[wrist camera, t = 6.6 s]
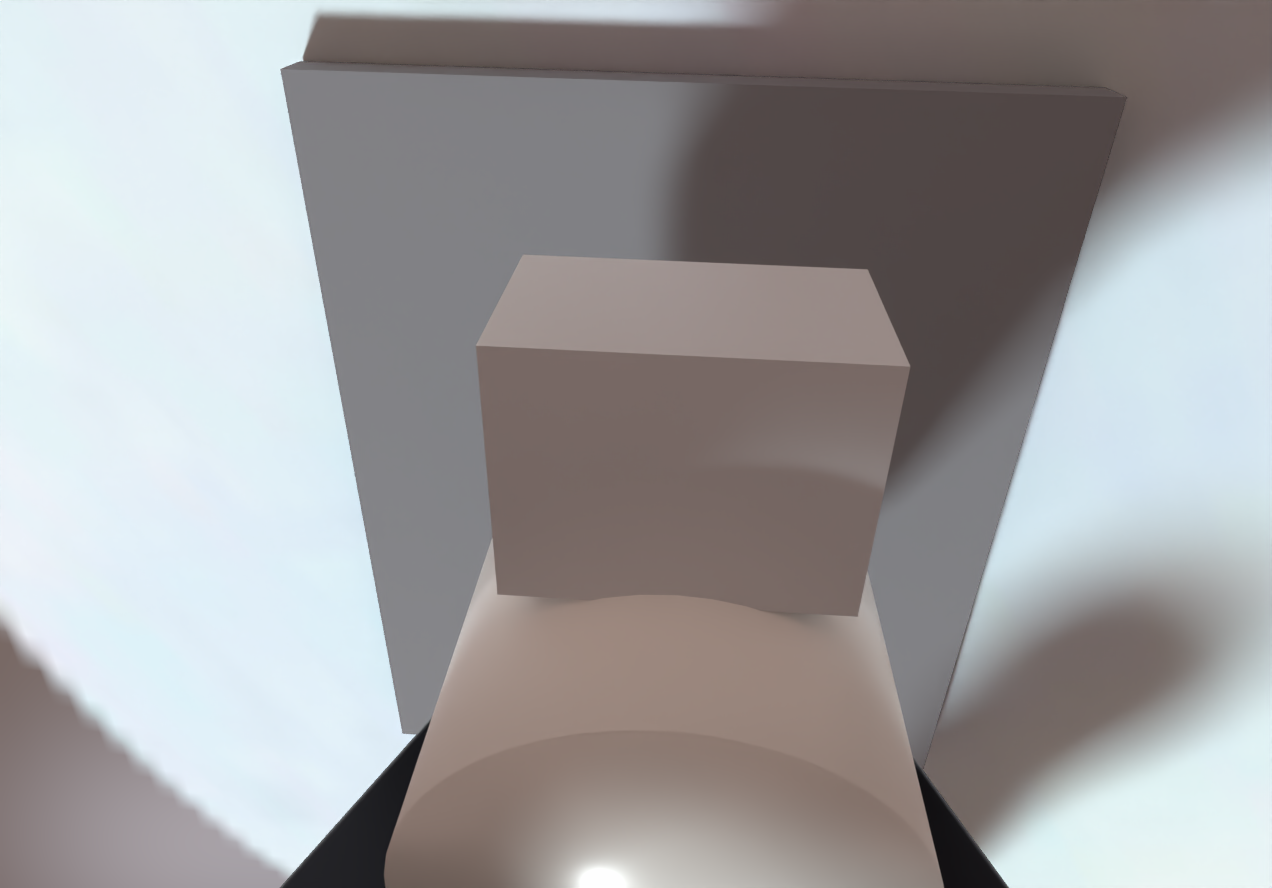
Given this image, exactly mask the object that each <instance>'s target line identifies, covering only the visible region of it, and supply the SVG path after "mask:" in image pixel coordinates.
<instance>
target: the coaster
mask: <svg viewBox="0 0 1272 888" xmlns="http://www.w3.org/2000/svg"><path fill="white" fill-rule="evenodd" d="M281 75H282V80H283V85H284V91H285V96H286V102H287V107H288V113H289V118H290V124H291V129H292V134H293V140H294V145H295V151H296V156H297V162H298V167H299V173H300V178H301V183H302V189H303V194H304V200H305V205H306V211H307V216H308V221H309V227H310V232H311V238H312V243H313V249H314V254H315V260H316V265H317V270H318V276H319V281H320V287H321V292H322V298H323V303H324V308H325V314H326V319H327V325H328V330H329V336H330V341H331V347H332V352H333V357H334V363H335V368H336V374H337V379H338V385H339V390H340V395H341V401H342V406H343V412H344V417H345V423H346V428H347V434H348V439H349V444H350V450H351V455H352V461H353V466H354V472H355V477H356V483H357V488H358V493H359V499H360V504H361V510H362V515H363V521H364V526H365V531H366V537H367V542H368V548H369V553H370V559H371V564H372V570H373V575H374V580H375V586H376V591H377V597H378V602H379V608H380V613H381V618H382V624H383V629H384V635H385V640H386V646H387V651H388V657H389V662H390V667H391V673H392V678H393V684H394V689H395V695H396V700H397V705H398V711H399V716H400V722H401V727H402V733H403V734H417V733H418V732H419V731H420V730H421V729H422V728H423V727H424V725H425V724H426V723H427V722H428V721H429V720H430V719H431V718H432V716H433V713H434V710H435V707H436V704H437V701H438V698H439V695H440V692H441V689H442V686H443V683H444V680H445V677H446V674H447V671H448V668H449V665H450V662H451V659H452V656H453V653H454V650H455V647H456V644H457V641H458V638H459V635H460V632H461V629H462V626H463V623H464V620H465V617H466V614H467V611H468V608H469V605H470V602H471V600H472V597H473V594H474V591H475V588H476V585H477V582H478V579H479V576H480V573H481V570H482V567H483V564H484V561H485V558H486V555H487V552H488V549H489V546H490V543H491V540H492V526H491V515H490V503H489V491H488V480H487V468H486V457H485V445H484V434H483V422H482V411H481V399H480V388H479V376H478V364H477V353H476V344H477V342H478V341H479V339H480V337H481V335H482V333H483V331H484V329H485V327H486V325H487V323H488V321H489V319H490V317H491V315H492V313H493V312H494V310H495V308H496V306H497V304H498V302H499V300H500V298H501V296H502V294H503V292H504V290H505V288H506V286H507V284H508V283H509V281H510V279H511V277H512V275H513V273H514V271H515V269H516V267H517V265H518V263H519V261H520V259H521V257H522V256H523V255H545V256H568V257H591V258H614V259H638V260H661V261H684V262H707V263H731V264H754V265H777V266H800V267H823V268H847V269H868V271H869V274H870V276H871V278H872V280H873V283H874V285H875V287H876V289H877V292H878V294H879V296H880V299H881V301H882V303H883V305H884V308H885V310H886V312H887V314H888V317H889V319H890V321H891V324H892V326H893V328H894V330H895V333H896V335H897V337H898V339H899V342H900V344H901V346H902V348H903V351H904V353H905V355H906V358H907V360H908V362H909V364H910V371H909V376H908V381H907V385H906V390H905V395H904V399H903V404H902V409H901V414H900V418H899V423H898V428H897V433H896V437H895V442H894V447H893V452H892V456H891V461H890V466H889V471H888V475H887V480H886V485H885V490H884V494H883V499H882V504H881V509H880V513H879V518H878V523H877V528H876V532H875V537H874V542H873V547H872V551H871V556H870V561H869V566H868V570H867V571H868V575H869V579H870V583H871V587H872V591H873V595H874V599H875V604H876V608H877V612H878V616H879V620H880V624H881V628H882V632H883V637H884V641H885V645H886V649H887V653H888V657H889V661H890V666H891V670H892V674H893V678H894V682H895V686H896V690H897V694H898V699H899V703H900V707H901V711H902V715H903V719H904V723H905V727H906V732H907V736H908V740H909V744H910V748H911V752H912V756H913V757H914V759H915V760H916V762H917V763H918V764H919V766H920V767H921V768H922V769H923V768H924V765H925V762H926V758H927V755H928V752H929V749H930V745H931V742H932V739H933V735H934V732H935V729H936V725H937V722H938V719H939V716H940V712H941V709H942V706H943V702H944V699H945V696H946V692H947V689H948V686H949V683H950V679H951V676H952V673H953V669H954V666H955V663H956V659H957V656H958V653H959V650H960V646H961V643H962V640H963V636H964V633H965V630H966V626H967V623H968V620H969V616H970V613H971V610H972V607H973V603H974V600H975V597H976V593H977V590H978V587H979V583H980V580H981V577H982V574H983V570H984V567H985V564H986V560H987V557H988V554H989V550H990V547H991V544H992V541H993V537H994V534H995V531H996V527H997V524H998V521H999V517H1000V514H1001V511H1002V508H1003V504H1004V501H1005V498H1006V494H1007V491H1008V488H1009V484H1010V481H1011V478H1012V475H1013V471H1014V468H1015V465H1016V461H1017V458H1018V455H1019V451H1020V448H1021V445H1022V442H1023V438H1024V435H1025V432H1026V428H1027V425H1028V422H1029V418H1030V415H1031V412H1032V408H1033V405H1034V402H1035V399H1036V395H1037V392H1038V389H1039V385H1040V382H1041V379H1042V375H1043V372H1044V369H1045V366H1046V362H1047V359H1048V356H1049V352H1050V349H1051V346H1052V342H1053V339H1054V336H1055V333H1056V329H1057V326H1058V323H1059V319H1060V316H1061V313H1062V309H1063V306H1064V303H1065V300H1066V296H1067V293H1068V290H1069V286H1070V283H1071V280H1072V276H1073V273H1074V270H1075V267H1076V263H1077V260H1078V257H1079V253H1080V250H1081V247H1082V243H1083V240H1084V237H1085V234H1086V230H1087V227H1088V224H1089V220H1090V217H1091V214H1092V210H1093V207H1094V204H1095V201H1096V197H1097V194H1098V191H1099V187H1100V184H1101V181H1102V177H1103V174H1104V171H1105V167H1106V164H1107V161H1108V158H1109V154H1110V151H1111V148H1112V144H1113V141H1114V138H1115V134H1116V131H1117V128H1118V125H1119V121H1120V118H1121V115H1122V111H1123V108H1124V105H1125V101H1126V98H1127V97H1125V96H1123V95H1121V94H1119V93H1117V92H1114V91H1112V90H1110V89H1108V88H1097V87H1067V86H1036V85H1005V84H975V83H944V82H914V81H883V80H853V79H822V78H792V77H761V76H730V75H700V74H669V73H639V72H608V71H578V70H547V69H516V68H486V67H455V66H425V65H394V64H364V63H333V62H303V61H300V62H297V63H295V64H292V65H290V66H287V67H285V68H282V69H281Z"/></svg>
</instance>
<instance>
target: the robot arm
mask: <svg viewBox="0 0 1272 888" xmlns="http://www.w3.org/2000/svg"><path fill="white" fill-rule="evenodd" d="M431 719H432V718H431ZM431 719H430V720H429V721H428V722H427V723H426V724H425V725H424V727H423V728H422V729H421V730H420V731H419V732H418V733H417V734H416V736H415V737H414V738H413V739H412V740H411V741H410V742H409V743H408V745H407V746H406V747H405V748H404V749H403V750H402V751H401V752H400V754H399V755H398V756H397V757H396V758H395V759H394V760H393V761H392V763H391V764H390V765H389V766H388V767H387V768H386V769H385V770H384V771H383V773H382V774H381V775H380V776H379V777H378V778H377V779H376V780H375V782H374V783H373V784H372V785H371V786H370V787H369V788H368V789H367V791H366V792H365V793H364V794H363V795H362V796H361V797H360V798H359V800H358V801H357V802H356V803H355V804H354V805H353V806H352V807H351V809H350V810H349V811H348V812H347V813H346V814H345V815H344V816H343V817H342V819H341V820H340V821H339V822H338V823H337V824H336V825H335V826H334V828H333V829H332V830H331V831H330V832H329V833H328V834H327V835H326V837H325V838H324V839H323V840H322V841H321V842H320V843H319V844H318V846H317V847H316V848H315V849H314V850H313V851H312V852H311V853H310V854H309V856H308V857H307V858H306V859H305V860H304V861H303V862H302V863H301V865H300V866H299V867H298V868H297V869H296V870H295V871H294V872H293V874H292V875H291V876H290V877H289V878H288V879H287V880H286V881H285V883H284V884H283V885H282V886H281V887H280V888H385V880H384V869H385V859H386V853H387V850H388V847H389V844H390V841H391V838H392V835H393V832H394V829H395V826H396V823H397V820H398V817H399V814H400V811H401V808H402V805H403V802H404V799H405V796H406V793H407V790H408V787H409V784H410V781H411V778H412V775H413V772H414V769H415V766H416V763H417V760H418V757H419V754H420V751H421V748H422V746H423V743H424V740H425V737H426V734H427V731H428V728H429V725H430V722H431ZM913 761H914V765H915V769H916V773H917V777H918V781H919V785H920V789H921V794H922V798H923V802H924V806H925V810H926V814H927V818H928V823H929V827H930V831H931V835H932V839H933V843H934V847H935V851H936V856H937V860H938V864H939V868H940V872H941V876H942V881H943V885H944V888H1009V887H1008V886H1007V884H1006V883H1005V882H1004V880H1003V879H1002V878H1001V876H1000V875H999V874H998V872H997V871H996V869H995V868H994V867H993V865H992V864H991V863H990V861H989V860H988V859H987V857H986V856H985V854H984V853H983V852H982V850H981V849H980V848H979V846H978V845H977V844H976V842H975V841H974V839H973V838H972V837H971V835H970V834H969V833H968V831H967V830H966V828H965V827H964V826H963V824H962V823H961V822H960V820H959V819H958V818H957V816H956V815H955V813H954V812H953V811H952V809H951V808H950V807H949V805H948V804H947V803H946V801H945V800H944V798H943V797H942V796H941V794H940V793H939V792H938V790H937V789H936V788H935V786H934V785H933V783H932V782H931V781H930V779H929V778H928V777H927V775H926V774H925V772H924V771H923V770H922V768H921V767H920V766H919V764H918V763H917V762H916V760H915V759H914V757H913Z"/></svg>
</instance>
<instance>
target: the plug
mask: <svg viewBox="0 0 1272 888" xmlns="http://www.w3.org/2000/svg"><path fill="white" fill-rule="evenodd" d="M476 353H477V364H478V376H479V388H480V399H481V411H482V422H483V434H484V445H485V457H486V468H487V480H488V491H489V503H490V515H491V526H492V540H491V543H490V546H489V549H488V552H487V555H486V558H485V561H484V564H483V567H482V570H481V573H480V576H479V579H478V582H477V585H476V588H475V591H474V594H473V597H472V600H471V602H470V605H469V608H468V611H467V614H466V617H465V620H464V623H463V626H462V629H461V632H460V635H459V638H458V641H457V644H456V647H455V650H454V653H453V656H452V659H451V662H450V665H449V668H448V671H447V674H446V677H445V680H444V683H443V686H442V689H441V692H440V695H439V698H438V701H437V704H436V707H435V710H434V713H433V716H432V719H431V722H430V725H429V728H428V731H427V734H426V737H425V740H424V743H423V746H422V748H421V751H420V754H419V757H418V760H417V763H416V766H415V769H414V772H413V775H412V778H411V781H410V784H409V787H408V790H407V793H406V796H405V799H404V802H403V805H402V808H401V811H400V814H399V817H398V820H397V823H396V826H395V829H394V832H393V835H392V838H391V841H390V844H389V847H388V850H387V853H386V859H385V869H384V880H385V888H944V885H943V881H942V876H941V872H940V868H939V864H938V860H937V856H936V851H935V847H934V843H933V839H932V835H931V831H930V827H929V823H928V818H927V814H926V810H925V806H924V802H923V798H922V794H921V789H920V785H919V781H918V777H917V773H916V769H915V765H914V761H913V756H912V752H911V748H910V744H909V740H908V736H907V732H906V727H905V723H904V719H903V715H902V711H901V707H900V703H899V699H898V694H897V690H896V686H895V682H894V678H893V674H892V670H891V666H890V661H889V657H888V653H887V649H886V645H885V641H884V637H883V632H882V628H881V624H880V620H879V616H878V612H877V608H876V604H875V599H874V595H873V591H872V587H871V583H870V579H869V575H868V571H867V570H868V566H869V561H870V556H871V551H872V547H873V542H874V537H875V532H876V528H877V523H878V518H879V513H880V509H881V504H882V499H883V494H884V490H885V485H886V480H887V475H888V471H889V466H890V461H891V456H892V452H893V447H894V442H895V437H896V433H897V428H898V423H899V418H900V414H901V409H902V404H903V399H904V395H905V390H906V385H907V381H908V376H909V371H910V364H909V362H908V360H907V358H906V355H905V353H904V351H903V348H902V346H901V344H900V342H899V339H898V337H897V335H896V333H895V330H894V328H893V326H892V324H891V321H890V319H889V317H888V314H887V312H886V310H885V308H884V305H883V303H882V301H881V299H880V296H879V294H878V292H877V289H876V287H875V285H874V283H873V280H872V278H871V276H870V274H869V271H868V269H847V268H823V267H800V266H777V265H754V264H731V263H707V262H684V261H661V260H638V259H614V258H591V257H568V256H545V255H523V256H522V257H521V259H520V261H519V263H518V265H517V267H516V269H515V271H514V273H513V275H512V277H511V279H510V281H509V283H508V284H507V286H506V288H505V290H504V292H503V294H502V296H501V298H500V300H499V302H498V304H497V306H496V308H495V310H494V312H493V313H492V315H491V317H490V319H489V321H488V323H487V325H486V327H485V329H484V331H483V333H482V335H481V337H480V339H479V341H478V342H477V344H476Z"/></svg>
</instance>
